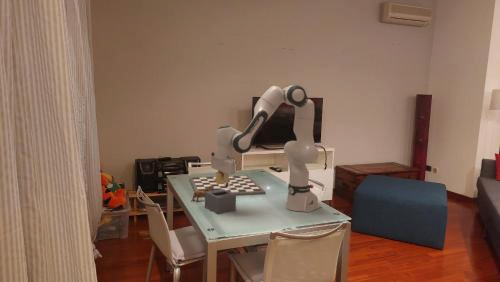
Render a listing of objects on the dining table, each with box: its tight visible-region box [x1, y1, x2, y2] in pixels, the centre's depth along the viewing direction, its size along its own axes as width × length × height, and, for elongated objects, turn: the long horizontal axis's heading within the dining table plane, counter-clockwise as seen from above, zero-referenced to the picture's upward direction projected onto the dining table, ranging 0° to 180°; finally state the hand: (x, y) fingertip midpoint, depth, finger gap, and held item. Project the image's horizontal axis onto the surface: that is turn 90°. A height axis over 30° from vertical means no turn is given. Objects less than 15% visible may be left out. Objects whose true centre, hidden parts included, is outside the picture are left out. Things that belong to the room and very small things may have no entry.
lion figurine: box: [190, 186, 214, 203], centre depth 220 cm, size 15×5×9 cm, turn 118°
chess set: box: [189, 175, 266, 198], centre depth 254 cm, size 45×45×11 cm
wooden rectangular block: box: [215, 171, 230, 184], centre depth 203 cm, size 7×2×6 cm, turn 127°
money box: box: [204, 189, 237, 215], centre depth 207 cm, size 12×14×9 cm
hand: (222, 179), depth 204 cm, fingers closed on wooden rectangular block, 2 cm apart
